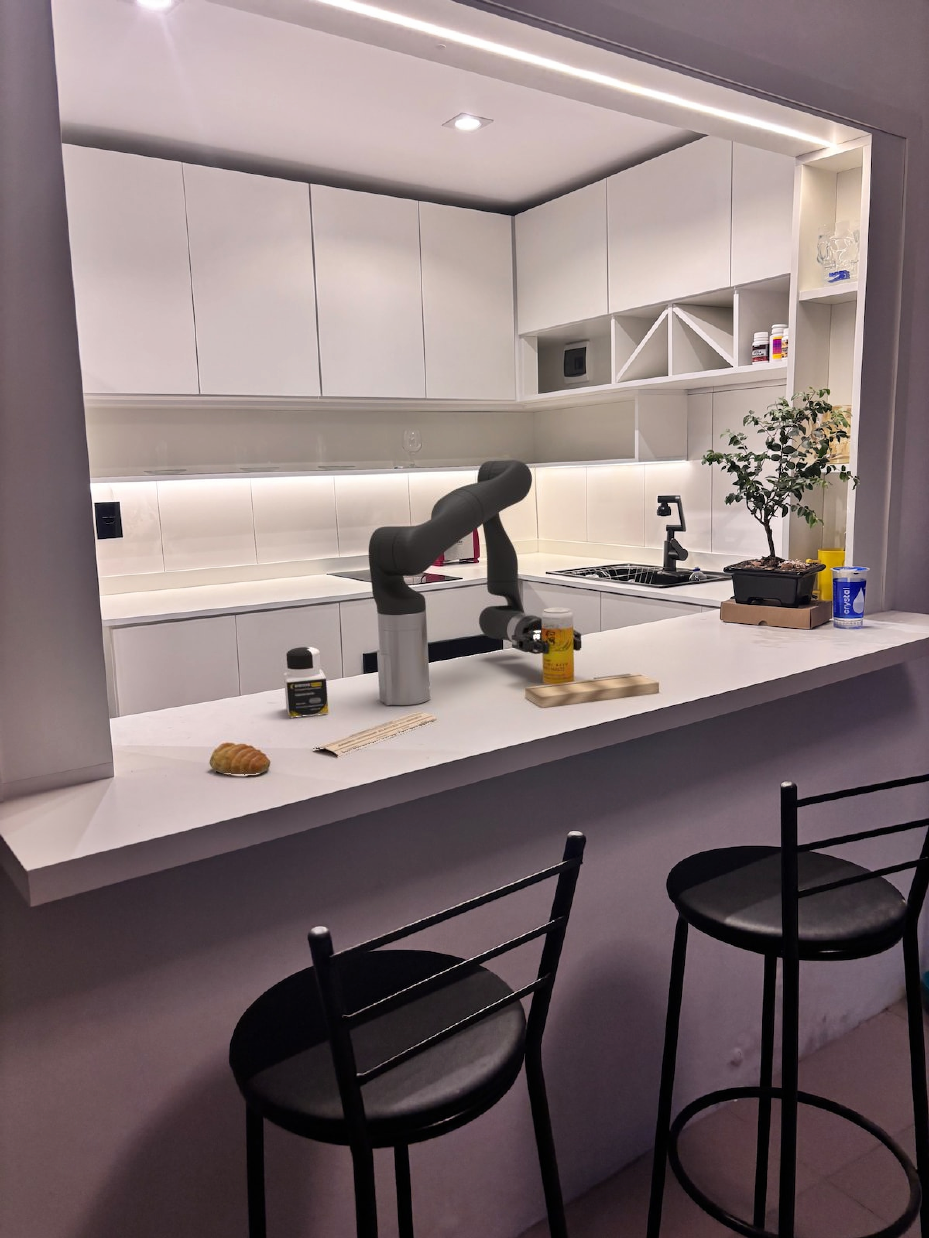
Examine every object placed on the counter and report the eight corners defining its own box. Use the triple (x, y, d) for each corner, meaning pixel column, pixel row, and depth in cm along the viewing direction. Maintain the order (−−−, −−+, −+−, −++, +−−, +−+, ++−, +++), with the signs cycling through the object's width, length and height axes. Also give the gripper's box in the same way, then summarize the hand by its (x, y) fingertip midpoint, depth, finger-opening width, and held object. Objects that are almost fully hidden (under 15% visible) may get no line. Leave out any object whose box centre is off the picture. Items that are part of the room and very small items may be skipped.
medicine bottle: (289, 718, 160) (284, 654, 158) (286, 709, 167) (281, 647, 165) (328, 714, 162) (324, 650, 160) (324, 705, 169) (320, 643, 167)
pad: (609, 686, 174) (609, 685, 174) (593, 679, 180) (593, 677, 180) (645, 682, 176) (645, 680, 176) (628, 675, 183) (628, 673, 183)
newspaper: (338, 762, 137) (337, 750, 137) (307, 754, 141) (306, 743, 141) (437, 724, 155) (436, 714, 155) (407, 719, 159) (406, 709, 159)
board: (541, 707, 160) (541, 696, 160) (525, 697, 168) (525, 687, 168) (658, 692, 168) (658, 681, 167) (638, 683, 175) (638, 673, 175)
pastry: (282, 768, 133) (280, 744, 133) (249, 783, 128) (246, 757, 127) (238, 760, 138) (236, 736, 138) (204, 773, 133) (202, 749, 132)
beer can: (538, 687, 173) (536, 611, 171) (550, 680, 178) (548, 606, 176) (567, 689, 170) (566, 612, 168) (578, 682, 176) (577, 607, 173)
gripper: (497, 618, 184) (528, 631, 168) (561, 612, 188) (596, 624, 172) (498, 653, 185) (529, 670, 169) (561, 646, 189) (597, 662, 174)
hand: (563, 647), depth 171 cm, fingers closed on beer can, 6 cm apart
